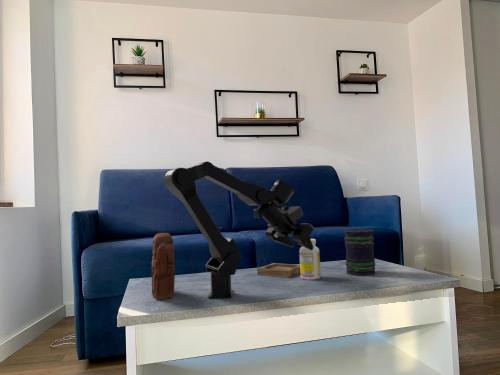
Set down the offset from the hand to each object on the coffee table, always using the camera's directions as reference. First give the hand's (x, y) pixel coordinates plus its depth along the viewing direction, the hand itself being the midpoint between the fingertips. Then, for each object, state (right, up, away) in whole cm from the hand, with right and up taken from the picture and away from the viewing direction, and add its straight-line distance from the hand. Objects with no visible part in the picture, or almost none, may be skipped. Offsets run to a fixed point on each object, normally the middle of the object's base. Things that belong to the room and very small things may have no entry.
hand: (302, 247), depth 114 cm
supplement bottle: (+3, -10, +1) cm, 11 cm away
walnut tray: (-7, -11, +11) cm, 17 cm away
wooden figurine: (-43, -12, -14) cm, 46 cm away
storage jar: (+21, -10, +6) cm, 24 cm away
